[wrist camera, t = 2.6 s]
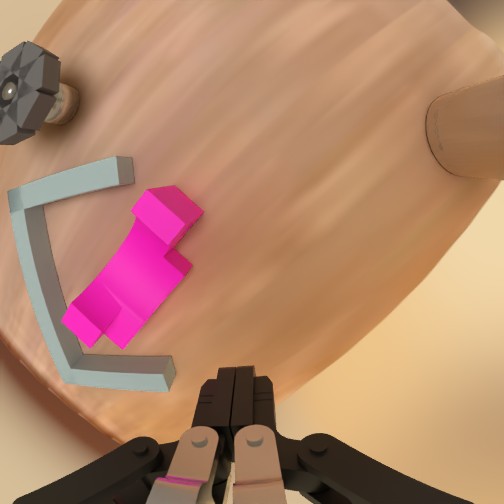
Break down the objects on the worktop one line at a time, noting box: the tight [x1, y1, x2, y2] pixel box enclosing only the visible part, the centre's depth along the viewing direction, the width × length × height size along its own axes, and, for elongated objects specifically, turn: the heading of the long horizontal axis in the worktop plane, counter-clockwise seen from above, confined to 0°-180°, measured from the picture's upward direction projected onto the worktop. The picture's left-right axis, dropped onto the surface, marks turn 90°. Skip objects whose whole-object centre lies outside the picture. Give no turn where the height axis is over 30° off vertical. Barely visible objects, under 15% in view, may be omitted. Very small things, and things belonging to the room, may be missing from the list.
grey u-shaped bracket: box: [8, 156, 176, 392], centre depth 28 cm, size 15×24×4 cm, turn 7°
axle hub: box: [2, 82, 80, 125], centre depth 20 cm, size 4×4×10 cm
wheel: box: [0, 41, 61, 145], centre depth 16 cm, size 9×9×2 cm
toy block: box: [61, 186, 204, 350], centre depth 25 cm, size 15×6×8 cm, turn 138°
